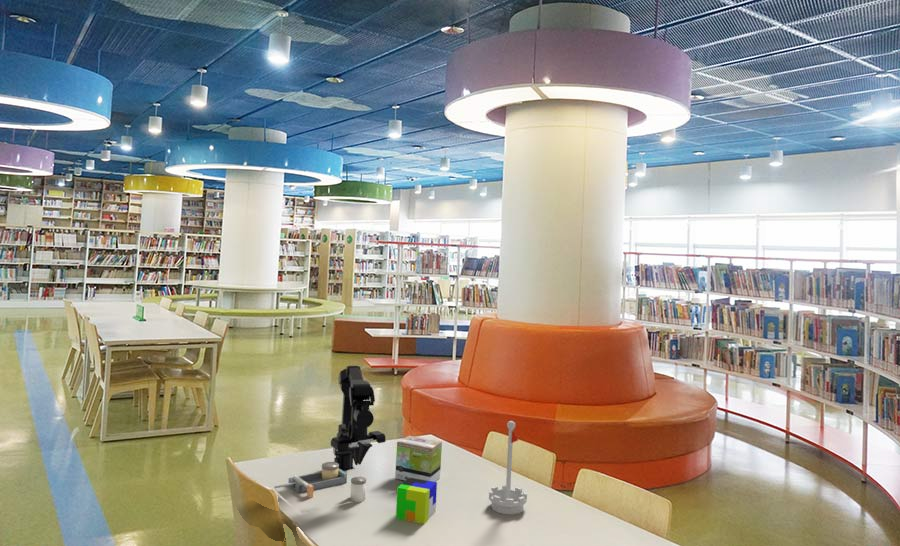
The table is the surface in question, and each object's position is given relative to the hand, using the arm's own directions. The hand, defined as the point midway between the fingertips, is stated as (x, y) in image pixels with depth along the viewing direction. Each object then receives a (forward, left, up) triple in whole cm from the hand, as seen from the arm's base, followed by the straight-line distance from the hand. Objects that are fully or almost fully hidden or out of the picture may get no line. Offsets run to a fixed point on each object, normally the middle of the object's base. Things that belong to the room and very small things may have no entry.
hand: (357, 464), depth 201 cm
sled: (+17, -15, -12) cm, 26 cm away
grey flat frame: (+5, -19, -12) cm, 23 cm away
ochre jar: (+1, -19, -12) cm, 22 cm away
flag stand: (-41, +33, -12) cm, 54 cm away
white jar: (-1, 0, -12) cm, 12 cm away
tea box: (-30, -5, -12) cm, 32 cm away
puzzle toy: (-11, +21, -13) cm, 27 cm away
